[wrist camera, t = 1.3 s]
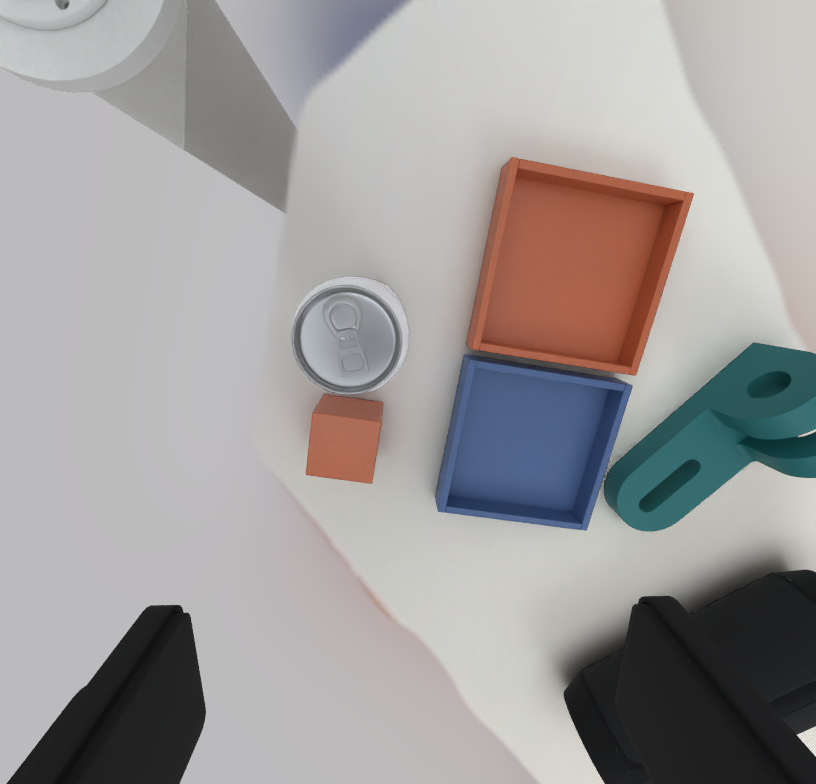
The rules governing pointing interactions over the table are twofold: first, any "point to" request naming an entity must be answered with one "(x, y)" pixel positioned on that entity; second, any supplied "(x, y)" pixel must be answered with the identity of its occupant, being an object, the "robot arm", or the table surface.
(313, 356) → the can
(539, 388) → the blue tray
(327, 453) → the block
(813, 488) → the table surface
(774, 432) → the bracket
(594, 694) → the portable speaker
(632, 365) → the terracotta tray
